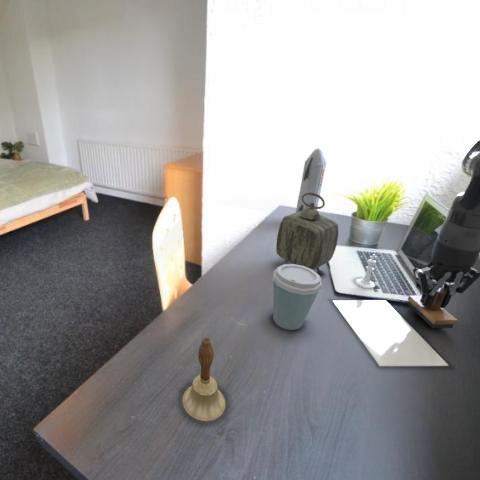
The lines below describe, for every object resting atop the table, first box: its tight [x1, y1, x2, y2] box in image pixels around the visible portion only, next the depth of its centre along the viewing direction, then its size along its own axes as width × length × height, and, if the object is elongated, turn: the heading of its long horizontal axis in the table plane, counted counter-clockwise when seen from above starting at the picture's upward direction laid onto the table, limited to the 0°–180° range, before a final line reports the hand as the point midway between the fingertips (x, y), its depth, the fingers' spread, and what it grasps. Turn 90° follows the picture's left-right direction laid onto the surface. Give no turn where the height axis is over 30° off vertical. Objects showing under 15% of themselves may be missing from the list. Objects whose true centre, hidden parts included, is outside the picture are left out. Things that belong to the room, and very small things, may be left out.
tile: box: [331, 299, 450, 368], centre depth 78 cm, size 14×22×1 cm, turn 179°
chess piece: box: [355, 253, 378, 289], centre depth 93 cm, size 5×5×10 cm
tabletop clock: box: [275, 193, 339, 276], centre depth 97 cm, size 14×9×25 cm, turn 34°
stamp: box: [407, 288, 458, 329], centre depth 79 cm, size 9×5×8 cm, turn 179°
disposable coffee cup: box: [272, 263, 323, 331], centre depth 78 cm, size 11×11×15 cm
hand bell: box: [182, 337, 226, 422], centre depth 59 cm, size 8×8×16 cm
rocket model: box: [295, 148, 327, 213], centre depth 126 cm, size 14×7×30 cm, turn 125°
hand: (432, 305), depth 79 cm, fingers closed on stamp, 3 cm apart
